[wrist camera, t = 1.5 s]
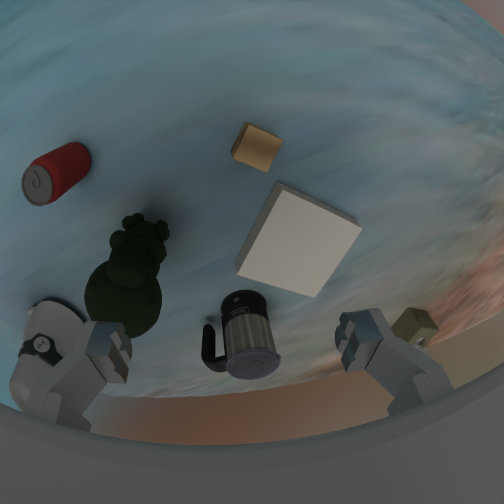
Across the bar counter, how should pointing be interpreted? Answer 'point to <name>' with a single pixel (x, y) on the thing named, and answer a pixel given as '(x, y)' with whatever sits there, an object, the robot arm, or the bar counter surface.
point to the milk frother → (242, 338)
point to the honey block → (256, 147)
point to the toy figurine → (130, 277)
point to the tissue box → (415, 328)
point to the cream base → (296, 242)
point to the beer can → (55, 173)
